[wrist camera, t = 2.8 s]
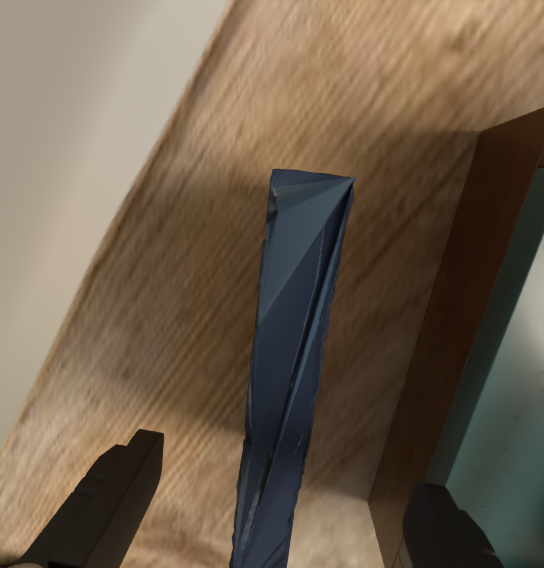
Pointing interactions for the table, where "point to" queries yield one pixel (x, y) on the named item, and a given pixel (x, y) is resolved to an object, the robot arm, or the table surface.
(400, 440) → the sofa
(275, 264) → the vhs cassette tape
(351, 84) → the table surface
